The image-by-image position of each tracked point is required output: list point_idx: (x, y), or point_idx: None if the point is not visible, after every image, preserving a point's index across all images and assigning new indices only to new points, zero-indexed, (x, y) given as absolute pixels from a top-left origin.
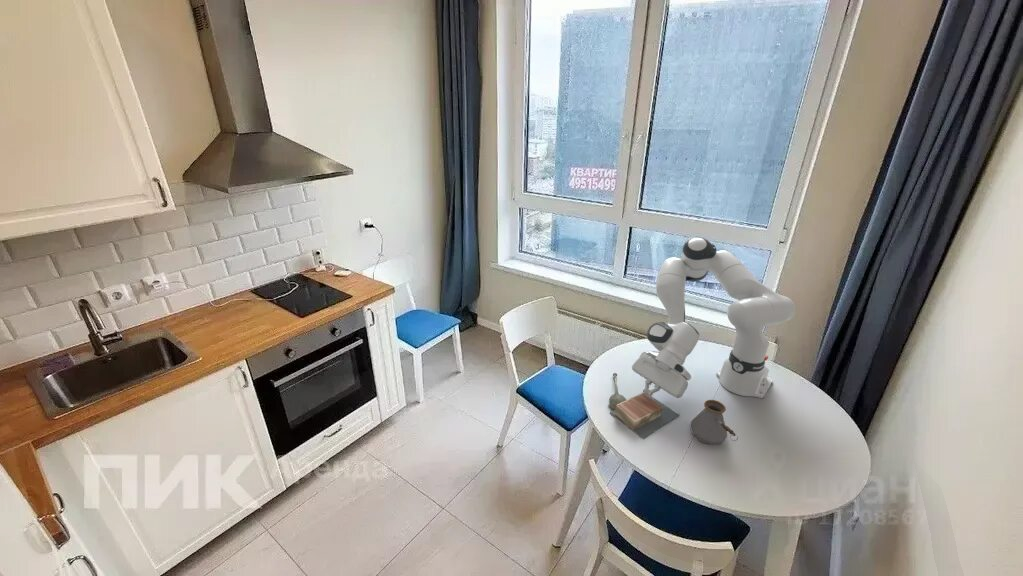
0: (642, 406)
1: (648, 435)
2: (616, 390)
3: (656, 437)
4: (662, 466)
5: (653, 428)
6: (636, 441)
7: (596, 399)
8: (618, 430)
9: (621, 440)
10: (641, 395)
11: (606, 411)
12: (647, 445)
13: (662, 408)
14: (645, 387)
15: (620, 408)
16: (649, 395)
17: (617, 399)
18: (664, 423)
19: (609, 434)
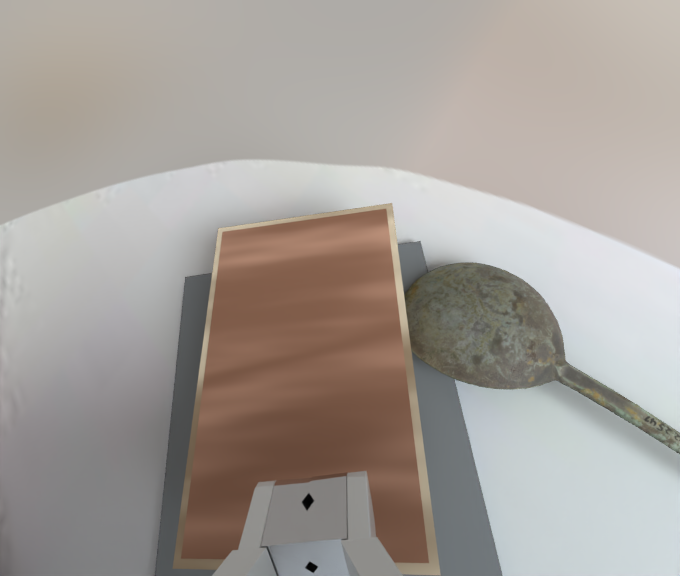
0: (285, 375)
1: (184, 316)
2: (610, 393)
3: (152, 347)
4: (55, 246)
5: (189, 375)
6: (202, 241)
7: (565, 247)
8: (297, 213)
9: (246, 190)
10: (402, 492)
11: (441, 238)
12: (155, 268)
13: (179, 558)
14: (365, 532)
15: (350, 209)
16: (260, 482)
17: (479, 301)
18: (169, 487)
19: (301, 168)
